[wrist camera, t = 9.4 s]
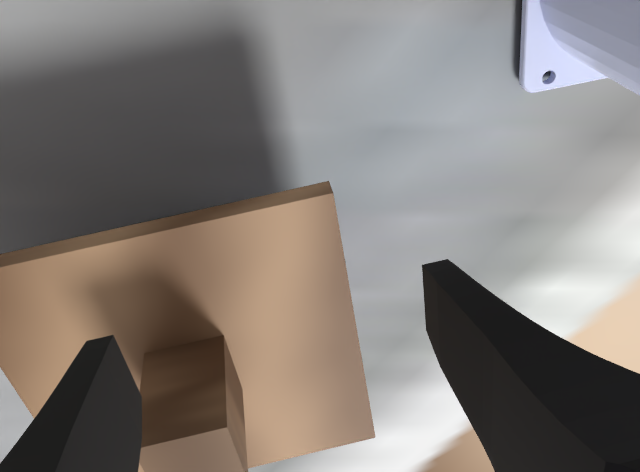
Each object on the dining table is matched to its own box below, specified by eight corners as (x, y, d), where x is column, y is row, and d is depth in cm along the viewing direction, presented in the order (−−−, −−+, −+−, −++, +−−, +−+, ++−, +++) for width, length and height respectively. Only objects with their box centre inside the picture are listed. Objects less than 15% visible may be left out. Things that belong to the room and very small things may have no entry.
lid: (328, 181, 19) (361, 268, 15) (371, 422, 26) (401, 527, 22) (-48, 264, 19) (-118, 378, 15) (95, 488, 25) (74, 608, 21)
